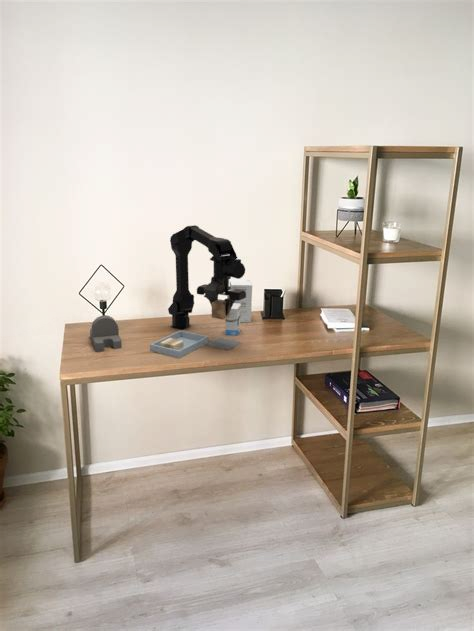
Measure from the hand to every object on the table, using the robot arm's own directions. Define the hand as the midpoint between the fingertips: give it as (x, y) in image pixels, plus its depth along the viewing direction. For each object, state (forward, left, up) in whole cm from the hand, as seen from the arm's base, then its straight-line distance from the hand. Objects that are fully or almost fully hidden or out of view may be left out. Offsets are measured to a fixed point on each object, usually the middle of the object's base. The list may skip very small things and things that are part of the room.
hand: (221, 314), depth 211 cm
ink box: (-3, +15, -13) cm, 20 cm away
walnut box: (0, 0, -1) cm, 1 cm away
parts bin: (-11, -11, -12) cm, 20 cm away
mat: (+1, +1, -12) cm, 12 cm away
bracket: (-38, -22, -13) cm, 46 cm away
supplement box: (-10, +33, -13) cm, 37 cm away
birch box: (-11, -16, -12) cm, 23 cm away
